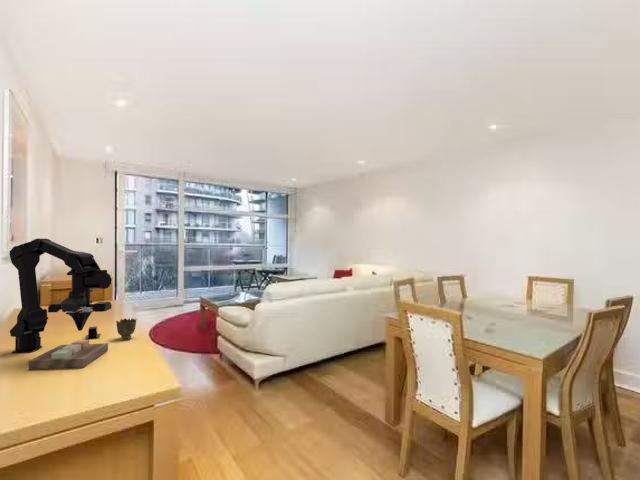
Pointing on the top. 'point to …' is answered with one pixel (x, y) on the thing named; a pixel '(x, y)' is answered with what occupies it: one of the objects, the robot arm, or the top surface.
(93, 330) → the black block on base
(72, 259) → the robot arm
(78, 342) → the terracotta button
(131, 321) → the cup
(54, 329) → the top surface
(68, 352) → the sage button
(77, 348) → the ivory button
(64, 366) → the brown wooden tray
